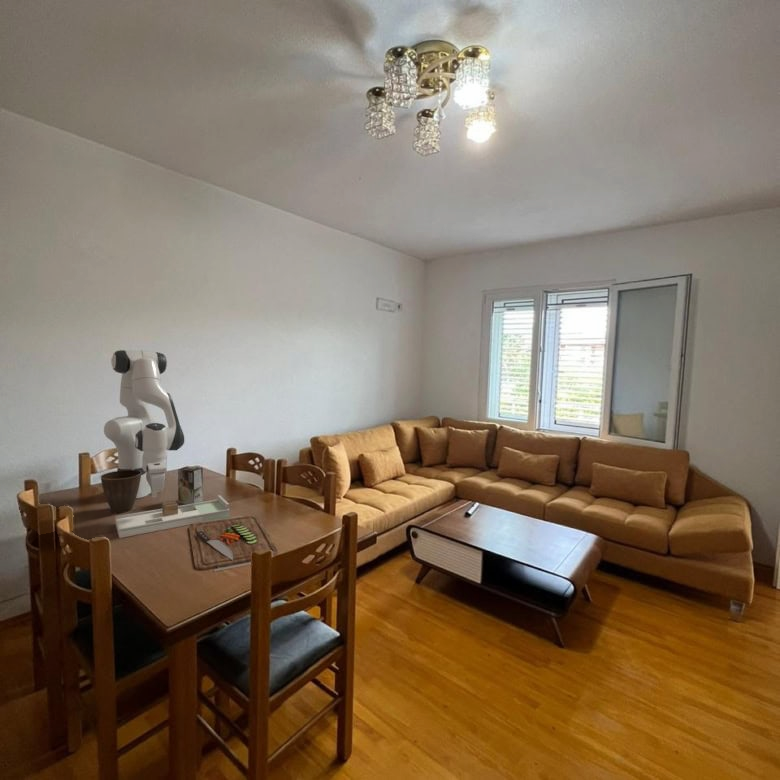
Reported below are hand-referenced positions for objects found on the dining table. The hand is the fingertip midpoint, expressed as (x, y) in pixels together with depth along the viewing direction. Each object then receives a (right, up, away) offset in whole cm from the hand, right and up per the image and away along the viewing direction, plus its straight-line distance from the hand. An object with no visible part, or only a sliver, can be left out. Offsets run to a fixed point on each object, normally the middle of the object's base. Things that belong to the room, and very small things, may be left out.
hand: (153, 496), depth 172 cm
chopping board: (+37, -13, -14) cm, 42 cm away
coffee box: (+3, -9, +25) cm, 27 cm away
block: (+5, -8, +3) cm, 10 cm away
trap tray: (+7, -11, +2) cm, 13 cm away
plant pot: (-21, -9, +11) cm, 25 cm away
